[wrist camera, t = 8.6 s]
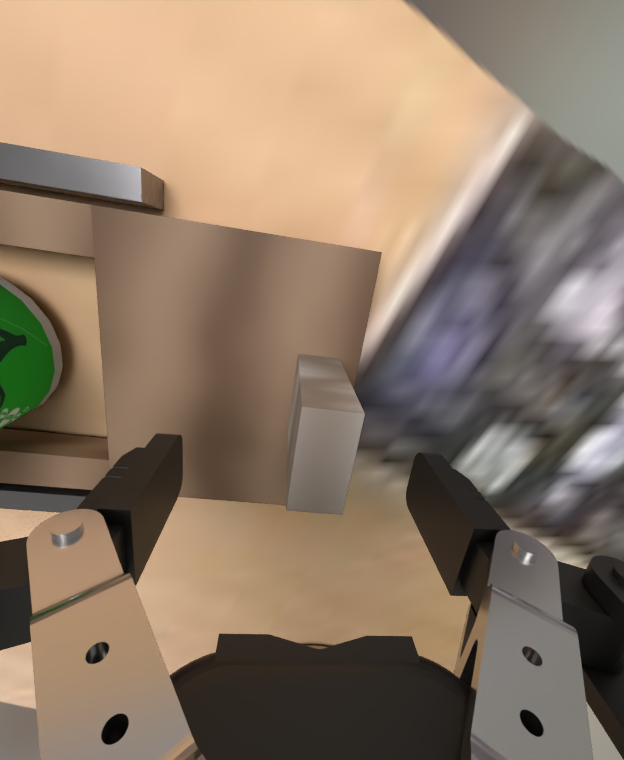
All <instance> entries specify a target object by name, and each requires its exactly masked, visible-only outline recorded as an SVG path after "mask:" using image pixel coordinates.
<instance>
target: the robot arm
mask: <svg viewBox="0 0 624 760" xmlns="http://www.w3.org/2000/svg"><path fill="white" fill-rule="evenodd" d="M182 480H183V440H182V436H181V435H177V434H163V433H156V434H155V435H154V437H153V438H152V439H151V440H150V442H149V443H148V444H147V445H146V447H145V448H142V447H136V448H134V449H133V450H131V451H129V452H128V453H126V454H124V455H122V456H121V457H120V459H119V460H118V461H117V462H116V463H115V464H114V465H113V468H112V469H110V470H109V471H108V472H107V474H106V475H105V477H104V478H102V479H101V480H100V482H99V483H98V484H97V485H96V486H95V487H94V489H93V490H92V491H91V492H90V493H89V494H88V495H87V497H86V498H85V499H84V500H83V501H82V502H81V504H80V505H79V506H78V507H77V508H76V509H75V510H69V511H66V512H62V513H60V514H57V515H55V516H52V517H50V518H49V519H47V520H45V521H44V522H42V523H41V524H39V525H38V526H37V527H36V528H35V529H34V530H33V531H32V532H31V533H30V535H29V537H24V538H19V539H13V540H8V541H2V542H0V650H3V649H7V648H10V647H14V646H17V645H21V644H25V643H28V642H31V646H32V658H33V671H34V684H35V696H36V709H37V722H38V734H39V746H40V759H41V760H593V753H592V745H591V737H590V729H589V722H588V712H587V705H586V701H587V703H588V704H589V706H590V707H591V709H592V711H593V712H594V714H595V715H596V717H597V718H598V720H599V722H600V723H601V725H602V726H603V727H604V730H605V731H606V733H607V734H608V736H609V737H610V739H611V741H612V742H613V744H614V745H615V747H616V748H617V750H618V752H619V753H620V755H621V756H622V758H623V759H624V562H622V561H620V560H618V559H615V558H612V557H608V556H595V557H593V558H592V559H591V561H590V563H589V565H588V567H587V569H583V568H579V567H576V566H573V565H569V564H566V563H562V562H559V561H557V560H556V558H555V557H554V555H553V554H552V553H551V551H550V550H549V549H548V548H547V547H545V546H544V545H543V544H542V543H540V542H539V541H537V540H536V539H534V538H532V537H530V536H528V535H526V534H524V533H521V532H518V531H514V530H510V528H509V527H508V526H507V525H506V524H505V522H504V521H503V520H502V519H501V518H500V516H499V515H498V514H497V513H496V512H495V510H494V509H493V508H492V507H491V506H490V504H489V503H488V502H487V501H485V498H484V497H483V496H482V495H481V493H480V492H477V489H476V487H475V486H474V485H473V484H472V483H471V481H470V480H469V479H468V478H466V477H465V476H464V475H462V474H461V473H459V472H458V471H457V470H455V469H452V468H451V466H450V465H449V464H448V463H447V461H446V460H445V459H444V458H443V456H442V455H440V454H430V453H418V454H417V455H416V456H415V459H414V463H413V467H412V471H411V475H410V479H409V482H408V486H407V491H406V501H407V506H408V509H409V511H410V513H411V515H412V517H413V519H414V521H415V523H416V525H417V527H418V529H419V531H420V534H421V536H422V538H423V540H424V542H425V544H426V546H427V548H428V550H429V552H430V554H431V556H432V558H433V560H434V562H435V564H436V566H437V568H438V571H439V573H440V575H441V577H442V579H443V581H444V583H445V585H446V587H447V589H448V591H449V593H450V595H451V596H468V598H469V600H470V605H469V608H468V610H467V614H466V619H465V624H464V628H463V633H462V638H461V642H460V647H459V651H458V656H457V661H456V665H455V670H454V673H452V672H450V671H449V670H447V669H446V668H444V667H442V666H441V665H439V664H437V663H435V662H433V661H431V660H429V659H426V658H424V657H422V656H418V654H417V651H416V648H415V645H414V642H413V639H412V637H411V636H365V637H361V638H358V639H354V640H351V641H348V642H344V643H341V644H338V645H334V646H331V647H325V646H313V645H309V646H305V645H302V644H299V643H295V642H292V641H289V640H285V639H282V638H279V637H275V636H272V635H267V634H219V638H218V643H217V649H216V652H215V653H212V654H209V655H206V656H203V657H201V658H199V659H196V660H194V661H192V662H190V663H188V664H187V665H185V666H183V667H181V668H180V669H178V670H177V671H175V672H174V673H173V674H171V675H170V676H169V674H168V671H167V668H166V666H165V663H164V660H163V658H162V655H161V652H160V650H159V647H158V645H157V642H156V639H155V637H154V634H153V631H152V629H151V626H150V624H149V621H148V618H147V616H146V613H145V610H144V608H143V605H142V602H141V600H140V597H139V595H138V592H137V589H136V587H135V586H136V584H137V582H138V580H139V578H140V576H141V574H142V572H143V570H144V567H145V565H146V563H147V561H148V559H149V557H150V555H151V553H152V551H153V548H154V546H155V544H156V542H157V540H158V538H159V536H160V534H161V532H162V530H163V527H164V525H165V523H166V521H167V519H168V517H169V515H170V513H171V511H172V508H173V506H174V504H175V502H176V500H177V498H178V496H179V493H180V490H181V486H182Z"/></svg>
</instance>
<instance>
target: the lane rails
mask: <svg viewBox="0 0 624 760" xmlns="http://www.w3.org/2000/svg"><path fill="white" fill-rule="evenodd" d="M0 183H5V184H11V185H17V186H23V187H29V188H35V189H41V190H47V191H53V192H59V193H65V194H71V195H77V196H83V197H89V198H95V199H101V200H107V201H113V202H119V203H125V204H131V205H137V206H143V207H149V208H155V209H161V210H164V195H163V180H162V179H160V178H158V177H156V176H155V175H153V174H151V173H150V172H148V171H146V170H145V169H143V168H141V167H136V166H131V165H125V164H119V163H114V162H108V161H103V160H97V159H91V158H86V157H80V156H74V155H69V154H63V153H58V152H52V151H46V150H41V149H35V148H29V147H24V146H18V145H12V144H7V143H1V142H0ZM91 491H92V490H86V489H73V488H60V487H48V486H35V485H22V484H10V483H0V508H4V509H18V510H32V511H46V512H60V513H62V512H66V511H69V510H75V509H76V508H77V507H78V506H79V505H80V504H81V502H82V501H83V500H84V499H85V498H86V497H87V495H88V494H89V493H90V492H91Z"/></svg>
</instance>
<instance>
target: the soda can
mask: <svg viewBox="0 0 624 760" xmlns="http://www.w3.org/2000/svg"><path fill="white" fill-rule="evenodd" d="M62 368H63V363H62V354H61V345H60V342H59V340H58V338H57V336H56V333H55V331H54V329H53V327H52V324H51V322H50V320H49V319H48V318H47V317H46V316H45V314H44V313H43V312H42V311H41V310H40V308H39V307H38V306H37V305H36V303H35V302H34V301H33V300H32V299H31V298H30V297H29V296H27V295H26V294H25V293H23V292H22V291H21V290H19V289H18V288H17V287H15V286H14V285H13V284H11V283H10V282H9V281H7V280H5V279H2V278H0V429H1V428H3V427H4V426H6V425H8V424H9V423H11V422H13V421H14V420H16V419H18V418H19V417H21V416H23V415H25V414H26V413H28V412H30V411H31V410H33V409H35V408H36V407H38V406H40V405H41V404H43V403H45V402H46V400H47V399H48V398H49V397H50V395H51V394H52V393H53V392H54V390H55V389H56V388H57V386H58V383H59V380H60V376H61V372H62Z"/></svg>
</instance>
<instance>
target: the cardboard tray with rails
mask: <svg viewBox="0 0 624 760" xmlns="http://www.w3.org/2000/svg"><path fill="white" fill-rule="evenodd" d="M0 244H5V245H12V246H19V247H26V248H32V249H39V250H46V251H53V252H59V253H66V254H73V255H80V256H86V257H93V258H95V271H96V285H97V299H98V313H99V327H100V341H101V355H102V369H103V382H104V396H105V410H106V424H107V438H98V437H88V436H77V435H66V434H56V433H45V432H35V431H24V430H13V429H3V428H1V429H0V483H10V484H22V485H35V486H48V487H60V488H73V489H86V490H93V489H94V487H95V486H96V485H97V484H98V483H99V482H100V480H101V479H102V478H104V477H105V475H106V474H107V472H108V471H109V470H110V469H112V468H113V465H114V464H115V463H116V462H117V461H118V460H119V459H120V457H121V456H122V455H124V454H126V453H128V452H129V451H131V450H133V449H134V448H136V447H142V448H145V447H146V445H147V444H148V443H149V442H150V440H151V439H152V438H153V437H154V435H155V434H156V433H163V434H177V435H181V436H182V440H183V480H182V486H181V490H180V493H179V496H178V497H188V498H200V499H213V500H226V501H239V502H251V503H264V504H277V505H286V510H289V511H302V512H315V513H328V514H341V515H342V514H343V509H344V505H345V500H346V496H347V491H348V487H349V483H350V478H351V474H352V469H353V465H354V460H355V456H356V451H357V447H358V442H359V438H360V434H361V429H362V425H363V420H364V416H365V413H364V411H363V409H362V406H361V404H360V402H359V400H358V398H357V396H356V394H355V391H354V385H355V380H356V375H357V370H358V365H359V361H360V356H361V351H362V346H363V341H364V336H365V331H366V327H367V322H368V317H369V312H370V307H371V302H372V297H373V293H374V288H375V283H376V278H377V273H378V268H379V263H380V259H381V254H382V252H376V251H370V250H364V249H358V248H352V247H346V246H340V245H334V244H328V243H321V242H315V241H309V240H303V239H297V238H291V237H285V236H279V235H273V234H266V233H260V232H254V231H248V230H242V229H236V228H230V227H224V226H218V225H211V224H205V223H199V222H193V221H187V220H181V219H175V218H169V217H163V216H156V215H150V214H144V213H138V212H132V211H126V210H120V209H114V208H108V207H102V206H95V205H89V204H83V203H77V202H71V201H65V200H59V199H53V198H47V197H40V196H34V195H28V194H22V193H16V192H10V191H4V190H0Z"/></svg>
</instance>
